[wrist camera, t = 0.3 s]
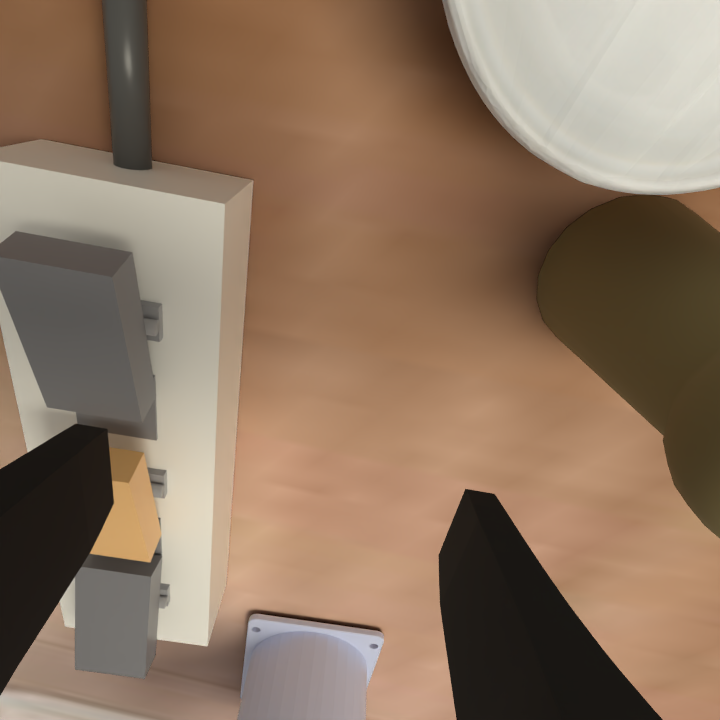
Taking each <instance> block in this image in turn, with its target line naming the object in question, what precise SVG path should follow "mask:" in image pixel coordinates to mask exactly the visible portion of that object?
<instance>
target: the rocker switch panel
mask: <svg viewBox="0 0 720 720" xmlns="http://www.w3.org/2000/svg"><path fill="white" fill-rule="evenodd" d="M102 9H103V23H104V37H105V51H106V66H107V80H108V94H109V108H110V122H111V136H112V150H113V153H111V152H106V151H101V150H95V149H90V148H85V147H80V146H75V145H70V144H64V143H59V142H54V141H49V140H44V139H39V140H34V141H29V142H24V143H19V144H14V145H9V146H4V147H0V243H1V242H3V241H4V240H5V239H6V238H8V237H9V236H10V235H11V234H13V233H14V232H15V231H19V232H24V233H30V234H35V235H41V236H46V237H52V238H57V239H63V240H68V241H74V242H79V243H85V244H90V245H95V246H101V247H106V248H112V249H117V250H123V251H128V252H133V258H134V264H135V270H136V276H137V282H138V288H139V294H140V300H141V306H142V312H143V318H144V324H145V330H146V336H147V342H148V348H149V354H150V360H151V366H152V372H153V378H154V384H155V390H156V398H155V400H154V402H153V403H152V405H151V407H150V409H149V411H148V413H147V415H146V417H145V419H144V421H143V422H142V423H139V422H133V421H127V420H121V419H115V418H109V417H102V416H96V415H90V414H84V413H78V412H72V411H66V410H60V409H53V408H47V406H46V404H45V401H44V399H43V396H42V394H41V391H40V389H39V386H38V384H37V381H36V379H35V376H34V374H33V371H32V368H31V366H30V363H29V361H28V358H27V356H26V353H25V351H24V348H23V346H22V343H21V341H20V338H19V336H18V333H17V331H16V328H15V326H14V323H13V321H12V318H11V315H10V313H9V310H8V308H7V305H6V303H5V300H4V298H3V295H2V293H1V290H0V326H1V331H2V335H3V340H4V344H5V349H6V354H7V358H8V363H9V368H10V372H11V377H12V382H13V386H14V391H15V396H16V400H17V405H18V410H19V414H20V419H21V424H22V428H23V433H24V438H25V442H26V447H27V451H28V452H29V451H31V450H33V449H34V448H36V447H38V446H39V445H41V444H42V443H44V442H46V441H47V440H49V439H51V438H52V437H54V436H56V435H57V434H59V433H61V432H62V431H64V430H66V429H67V428H69V427H71V426H73V425H74V424H82V425H88V426H94V427H100V428H106V429H108V440H109V447H112V448H118V449H125V450H131V451H137V452H143V453H144V455H145V459H146V464H147V469H148V473H149V478H150V483H151V487H152V492H153V496H154V501H155V506H156V510H157V515H158V520H159V524H160V529H161V537H160V539H159V542H158V544H157V547H156V549H155V552H154V554H153V555H158V556H162V570H161V584H160V599H159V613H158V628H157V640H164V641H172V642H179V643H186V644H193V645H201V646H208V644H209V640H210V637H211V634H212V630H213V627H214V624H215V621H216V617H217V614H218V611H219V607H220V604H221V601H222V597H223V594H224V591H225V588H226V584H227V571H228V556H229V541H230V526H231V511H232V496H233V481H234V466H235V451H236V436H237V421H238V405H239V390H240V375H241V360H242V345H243V330H244V315H245V300H246V285H247V270H248V255H249V240H250V225H251V210H252V195H253V180H251V179H245V178H240V177H235V176H230V175H225V174H220V173H214V172H209V171H204V170H199V169H194V168H188V167H183V166H178V165H173V164H168V163H163V162H157V161H152V146H151V116H150V86H149V56H148V26H147V0H102ZM60 605H61V610H62V614H63V619H64V624H65V627H71V628H75V578H74V579H73V581H72V582H71V584H70V585H69V587H68V589H67V590H66V592H65V593H64V595H63V596H62V598H61V600H60Z"/></svg>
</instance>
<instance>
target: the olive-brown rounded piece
mask: <svg viewBox="0 0 720 720" xmlns="http://www.w3.org/2000/svg"><path fill="white" fill-rule="evenodd" d="M537 302H538V305H539V309H540V312H541V315H542V318H543V321H544V322H545V323H546V325H547V326H548V327H549V328H550V330H551V331H552V332H553V333H554V334H555V336H556V337H557V338H558V339H559V340H560V341H561V342H563V343H564V344H565V345H566V346H567V347H568V348H569V349H570V350H571V351H572V352H573V353H574V354H576V355H577V356H578V357H579V358H580V359H581V360H582V361H583V362H584V363H585V364H586V365H588V366H589V367H590V368H591V369H592V370H593V371H594V372H595V373H596V374H597V375H598V376H599V377H601V378H602V379H603V380H604V381H605V382H606V383H607V384H608V385H609V386H610V387H611V388H612V389H614V390H615V391H616V392H617V393H618V394H619V395H620V396H621V397H622V398H623V399H624V400H625V401H627V402H628V403H629V404H630V405H631V406H632V407H633V408H634V409H635V410H636V411H637V412H638V413H640V414H641V415H642V416H643V417H644V418H645V419H646V420H647V421H648V422H649V423H650V424H652V425H653V426H654V427H655V428H656V429H657V430H658V431H659V432H660V433H661V434H662V435H663V436H664V438H663V443H664V448H665V453H666V458H667V463H668V467H669V470H670V473H671V476H672V479H673V483H674V485H675V487H676V488H677V490H678V491H679V493H680V494H681V496H682V497H683V499H684V500H685V502H686V503H687V505H688V506H689V507H690V508H691V510H692V511H693V512H694V513H695V514H696V516H697V517H698V518H699V519H700V520H701V522H702V523H703V524H704V525H705V526H706V527H707V528H708V529H709V530H711V531H712V532H713V533H714V534H715V535H716V536H718V537H719V538H720V232H718V231H717V230H716V229H715V228H713V227H712V226H711V225H710V224H709V223H707V222H706V221H705V220H704V219H702V218H701V217H700V216H699V215H697V214H696V213H695V212H693V211H692V210H690V209H689V208H687V207H686V206H684V205H683V204H682V203H680V202H679V201H677V200H675V199H670V198H666V197H661V196H657V195H646V194H645V195H636V196H627V197H619V198H617V199H615V200H612V201H610V202H607V203H605V204H602V205H600V206H597V207H595V208H593V209H591V210H589V211H588V212H587V213H585V214H584V215H583V216H581V217H580V218H579V219H577V220H576V221H575V222H573V223H572V224H571V225H569V226H568V227H567V228H566V229H565V230H564V232H563V233H562V234H561V235H560V237H559V238H558V239H557V240H556V242H555V243H554V244H553V246H552V247H551V248H550V249H549V251H548V253H547V255H546V258H545V260H544V263H543V265H542V268H541V270H540V273H539V275H538V288H537Z"/></svg>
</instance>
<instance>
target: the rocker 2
mask: <svg viewBox="0 0 720 720" xmlns="http://www.w3.org/2000/svg"><path fill="white" fill-rule="evenodd" d="M161 570H162V556H158V555H153V557H152V559H151V562H143V561H136V560H129V559H123V558H116V557H109V556H102V555H96V554H89V555H88V557H87V558H86V560H85V562H84V563H83V565H82V567H81V568H80V570H79V571H78V573H77V574H76V576H75V670H82V671H90V672H97V673H105V674H112V675H120V676H127V677H135V678H142V679H145V677H146V675H147V673H148V671H149V668H150V666H151V664H152V662H153V659H154V657H155V655H156V642H157V628H158V613H159V599H160V584H161Z"/></svg>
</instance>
